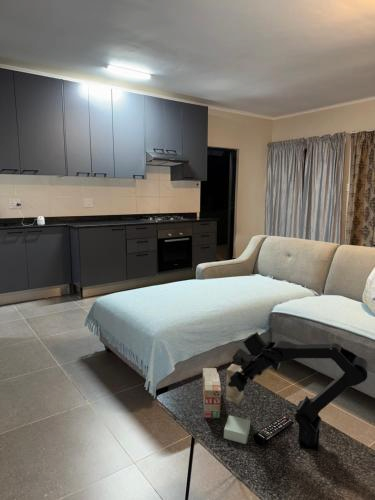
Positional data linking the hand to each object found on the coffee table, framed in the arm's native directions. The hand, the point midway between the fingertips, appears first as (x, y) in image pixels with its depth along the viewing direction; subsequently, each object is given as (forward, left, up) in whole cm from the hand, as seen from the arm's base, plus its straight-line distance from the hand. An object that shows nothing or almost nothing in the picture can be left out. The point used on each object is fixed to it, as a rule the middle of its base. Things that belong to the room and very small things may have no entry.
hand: (231, 382), depth 135 cm
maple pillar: (-1, 0, -7) cm, 7 cm away
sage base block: (-4, +11, -14) cm, 18 cm away
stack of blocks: (+9, -5, -14) cm, 17 cm away
